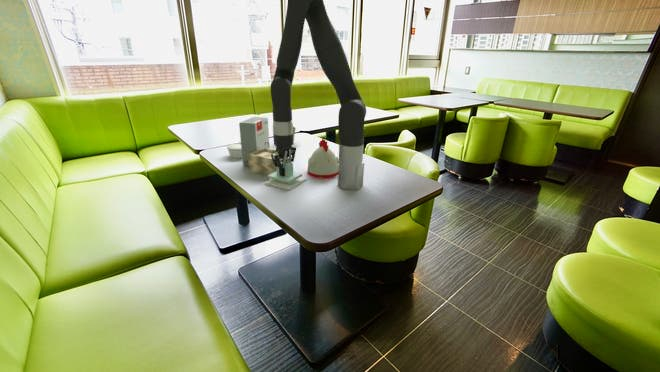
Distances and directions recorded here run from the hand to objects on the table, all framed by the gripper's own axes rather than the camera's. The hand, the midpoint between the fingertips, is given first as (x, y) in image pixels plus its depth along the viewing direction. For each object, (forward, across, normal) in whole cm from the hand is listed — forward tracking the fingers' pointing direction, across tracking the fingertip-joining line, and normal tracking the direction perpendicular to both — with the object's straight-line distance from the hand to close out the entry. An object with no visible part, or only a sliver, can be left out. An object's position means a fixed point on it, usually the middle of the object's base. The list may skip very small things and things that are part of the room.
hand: (285, 174), depth 120 cm
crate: (+3, +7, +14) cm, 16 cm away
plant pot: (+4, +48, +33) cm, 58 cm away
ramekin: (+4, +16, +40) cm, 43 cm away
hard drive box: (+4, +14, +27) cm, 30 cm away
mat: (+3, 0, 0) cm, 3 cm away
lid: (+1, 0, 0) cm, 1 cm away
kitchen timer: (+4, +17, -8) cm, 19 cm away
